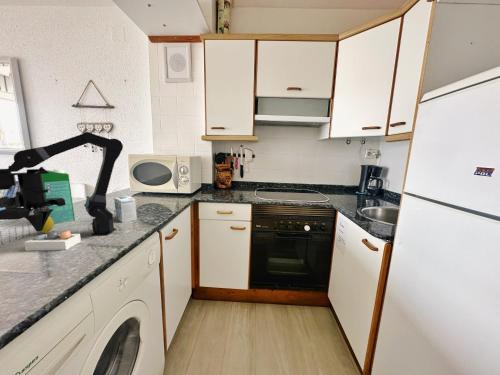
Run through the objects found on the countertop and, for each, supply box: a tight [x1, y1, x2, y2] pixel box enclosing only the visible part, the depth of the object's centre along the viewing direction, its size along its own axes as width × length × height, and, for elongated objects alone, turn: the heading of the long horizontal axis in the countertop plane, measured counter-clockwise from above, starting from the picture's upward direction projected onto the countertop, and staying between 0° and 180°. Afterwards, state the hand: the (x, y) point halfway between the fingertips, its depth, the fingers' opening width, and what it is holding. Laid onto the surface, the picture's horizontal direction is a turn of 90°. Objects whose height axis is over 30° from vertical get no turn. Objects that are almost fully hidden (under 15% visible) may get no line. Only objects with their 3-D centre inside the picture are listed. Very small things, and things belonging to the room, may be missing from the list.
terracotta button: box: [58, 230, 72, 240], centre depth 75 cm, size 3×3×3 cm
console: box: [23, 233, 82, 252], centre depth 75 cm, size 7×13×3 cm, turn 94°
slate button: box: [34, 233, 47, 240], centre depth 74 cm, size 3×3×3 cm
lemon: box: [39, 216, 55, 234], centre depth 85 cm, size 6×6×8 cm
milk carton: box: [42, 168, 76, 225], centre depth 100 cm, size 9×9×25 cm
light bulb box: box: [113, 195, 138, 224], centre depth 104 cm, size 11×7×11 cm, turn 47°
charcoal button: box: [46, 230, 60, 240], centre depth 74 cm, size 3×3×3 cm
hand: (39, 231), depth 73 cm, fingers closed
